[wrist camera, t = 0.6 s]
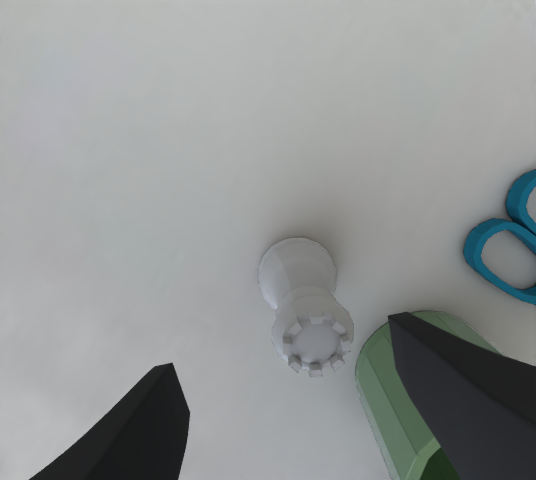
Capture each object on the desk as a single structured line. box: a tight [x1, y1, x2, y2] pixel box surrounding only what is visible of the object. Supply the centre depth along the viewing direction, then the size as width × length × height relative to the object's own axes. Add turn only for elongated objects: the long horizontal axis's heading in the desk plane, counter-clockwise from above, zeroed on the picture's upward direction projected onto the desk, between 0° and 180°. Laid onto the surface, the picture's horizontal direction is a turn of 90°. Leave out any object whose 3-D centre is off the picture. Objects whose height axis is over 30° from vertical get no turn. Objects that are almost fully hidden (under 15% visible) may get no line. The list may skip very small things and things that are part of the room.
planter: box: [355, 311, 507, 480], centre depth 19 cm, size 8×8×8 cm
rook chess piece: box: [258, 237, 354, 377], centre depth 17 cm, size 4×4×8 cm
